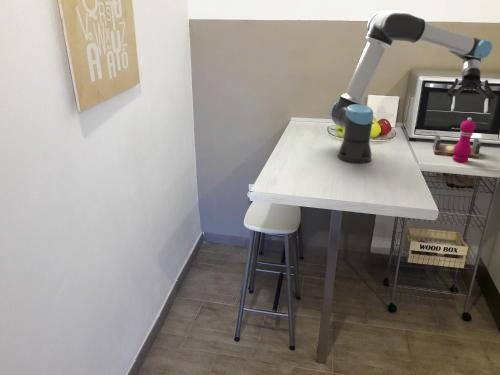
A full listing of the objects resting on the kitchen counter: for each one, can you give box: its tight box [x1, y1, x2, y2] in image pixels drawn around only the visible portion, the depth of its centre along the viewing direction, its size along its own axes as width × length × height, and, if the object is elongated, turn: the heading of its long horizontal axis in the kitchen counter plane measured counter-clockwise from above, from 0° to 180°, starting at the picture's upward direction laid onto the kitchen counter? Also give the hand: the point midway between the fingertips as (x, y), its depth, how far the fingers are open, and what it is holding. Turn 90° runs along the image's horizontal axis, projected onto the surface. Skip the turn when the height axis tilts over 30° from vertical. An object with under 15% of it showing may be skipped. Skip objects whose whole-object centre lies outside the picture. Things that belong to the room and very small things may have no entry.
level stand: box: [431, 134, 482, 160], centre depth 192 cm, size 19×12×6 cm, turn 71°
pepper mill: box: [452, 117, 476, 164], centre depth 179 cm, size 7×7×20 cm
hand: (469, 111), depth 182 cm, fingers open, 13 cm apart
